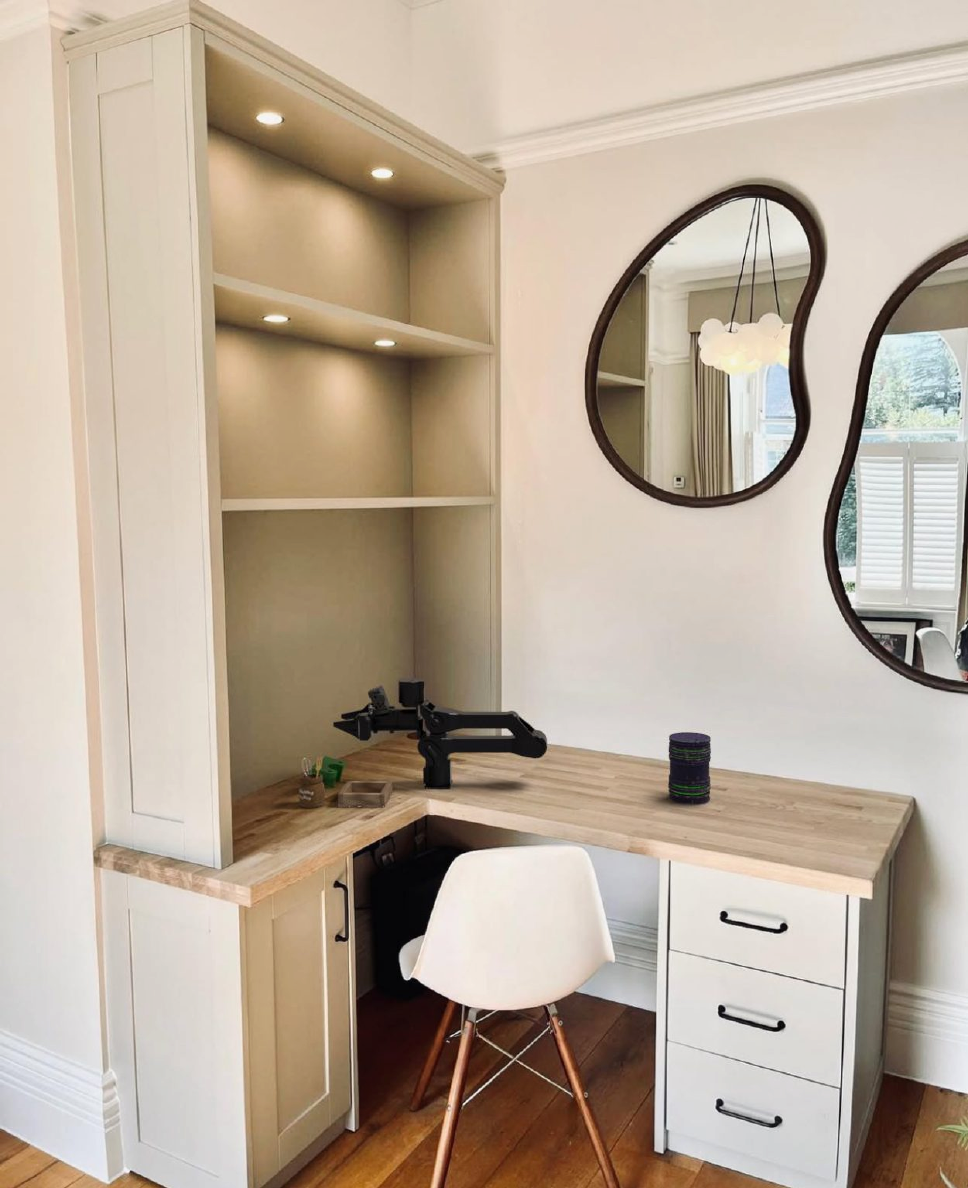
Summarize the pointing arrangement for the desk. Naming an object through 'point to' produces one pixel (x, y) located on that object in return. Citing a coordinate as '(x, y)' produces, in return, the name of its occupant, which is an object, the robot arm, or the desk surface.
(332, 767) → the clamp
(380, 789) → the socket block
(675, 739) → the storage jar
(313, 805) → the utensil holder
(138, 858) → the desk surface
